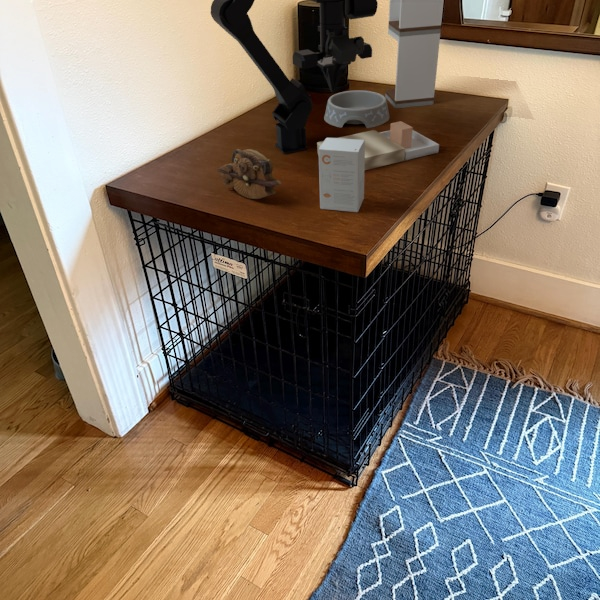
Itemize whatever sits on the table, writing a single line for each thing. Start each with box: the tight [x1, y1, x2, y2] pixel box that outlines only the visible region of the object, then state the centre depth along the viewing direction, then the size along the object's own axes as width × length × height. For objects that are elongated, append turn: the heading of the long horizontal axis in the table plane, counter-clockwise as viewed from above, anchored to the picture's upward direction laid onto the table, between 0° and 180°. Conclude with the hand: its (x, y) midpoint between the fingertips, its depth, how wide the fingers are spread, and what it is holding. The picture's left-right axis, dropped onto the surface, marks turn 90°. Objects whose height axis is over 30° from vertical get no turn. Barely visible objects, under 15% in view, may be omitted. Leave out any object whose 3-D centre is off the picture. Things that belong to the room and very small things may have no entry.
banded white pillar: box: [384, 0, 444, 109], centre depth 156 cm, size 11×11×35 cm
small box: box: [318, 137, 365, 213], centre depth 113 cm, size 8×6×13 cm
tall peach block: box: [389, 121, 414, 149], centre depth 137 cm, size 5×5×3 cm
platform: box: [316, 129, 405, 171], centre depth 134 cm, size 16×14×3 cm
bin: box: [379, 129, 440, 161], centre depth 139 cm, size 9×14×2 cm
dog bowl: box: [323, 89, 390, 129], centre depth 156 cm, size 17×18×5 cm
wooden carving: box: [217, 148, 282, 200], centre depth 119 cm, size 16×5×10 cm, turn 55°
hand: (333, 91), depth 138 cm, fingers closed
